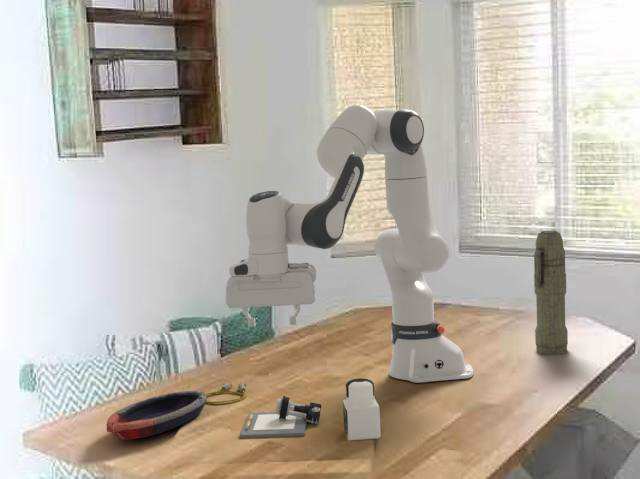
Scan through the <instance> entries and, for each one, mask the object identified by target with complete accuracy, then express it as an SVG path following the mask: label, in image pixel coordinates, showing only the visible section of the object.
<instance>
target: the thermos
mask: <svg viewBox="0 0 640 479" xmlns="http://www.w3.org/2000/svg"><path fill="white" fill-rule="evenodd" d="M565 250H566V249H565V248H564V240H563V238H562V235H561V232H558V230H542V231H540V232H538V233H537V235H536V239H535V252H534V255H533V257H534V258H533V261H534V262H533V263H534V273H533V278H534V279H533V280H534V281H533V282H534V284H533V285H534V293H535V296H536V300H535V302H536V327H535V328H534V329H535V330H534V334H535V335H534V336H535V346H536V352H537V353H539V354H543V355H548V356H549V355H550V356H551V355H562V354H565V353H567V352H568V343H569V342H568V341H569V340H568V339H569V338H568V329H567V325H566V297H565V296H566V293H567V273H566V251H565Z"/></svg>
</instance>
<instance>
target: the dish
mask: <svg viewBox="0 0 640 479" xmlns="http://www.w3.org/2000/svg"><path fill="white" fill-rule="evenodd" d="M206 394H207V393H205V392H204V391H200V390H183V391H177V392H176V391H175V392H171V393H170V392H169V393H166V394H161V395H157V396H152V397H150V398H146V399H143V400H141V401H137V402H134V403H132V404H129V405H127V406H125V407H123V408H120V409H118V410H116V411H115V412H113V413H112V414H111V415H110V416H109V417H108V418H107V421H106V432H107V433H111V434H112V435H113V436H114V437H116V438H119V439H120V440H135V439H140V438H145V437H150V436H154V435H158V434H163V433H166V432H168V431H170V430H173V429H176V428H177V427H179V426H181V425H184V424H186V423H188V422H190V421H191V420H192V419H194V418H196V417H197V416H198V415H199V414H201V412H202V411H203V409H204V408H205V406H206V405H205V404H206V403H205V402H206V401H208V400H207V399H208V397H207V395H206Z"/></svg>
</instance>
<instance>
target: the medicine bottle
mask: <svg viewBox="0 0 640 479" xmlns="http://www.w3.org/2000/svg"><path fill="white" fill-rule="evenodd" d="M374 384H375V383H374V381H373V380H371V379H368V378H353V379H351V380H348V381H347V382H346V384H345V392H346V394H345V396H346V399H342V411H343V412H342V413H343V430H344V433H345V436H346V438H347V440H348V441H363V440H375V439H381V437H382V436H381V434H382V433H381V415H380V410H381V409H380V405H379V403H378V401H377V400H376V398H375V385H374Z"/></svg>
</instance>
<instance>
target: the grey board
mask: <svg viewBox="0 0 640 479" xmlns="http://www.w3.org/2000/svg"><path fill="white" fill-rule="evenodd" d="M275 413H276V411H264V412H263V411H261V412H259V411H257V412H248V415H247V418H246V420H245V422H244V425H243V427H242V429H241V432H240V435H239V437H240V438H239V439H246V438H247V439H250V438H251V439H253V438H254V439H255V438H280V437H281V438H282V437H285V438H286V437H287V438H288V437H304V436H305V435H306V429H307V424H308V422H307V419H303V418H301V417H296V416H291V415H288V416H286V419H282V418H281V419H279V415H278V414H275Z"/></svg>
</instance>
